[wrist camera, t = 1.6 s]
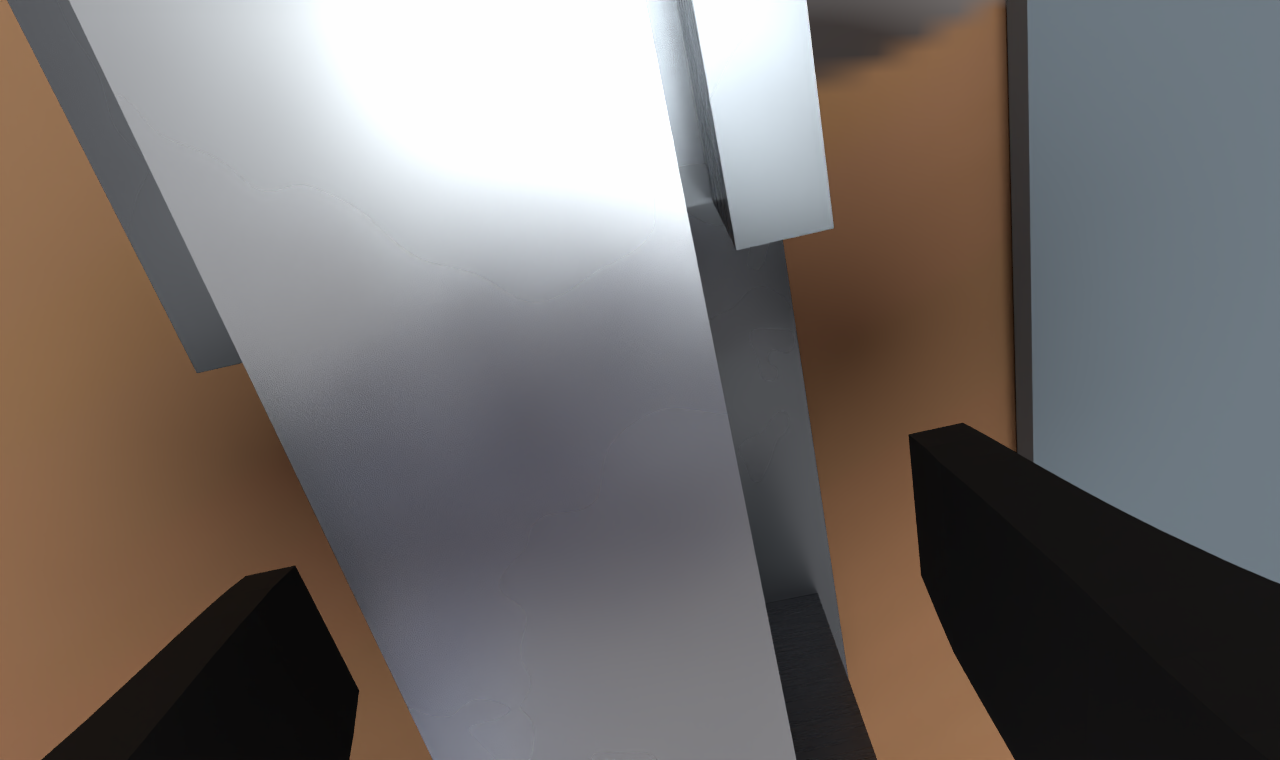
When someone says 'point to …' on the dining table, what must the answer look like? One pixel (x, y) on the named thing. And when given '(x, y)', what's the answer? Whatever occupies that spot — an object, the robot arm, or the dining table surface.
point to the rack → (728, 266)
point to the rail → (476, 351)
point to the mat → (1151, 260)
